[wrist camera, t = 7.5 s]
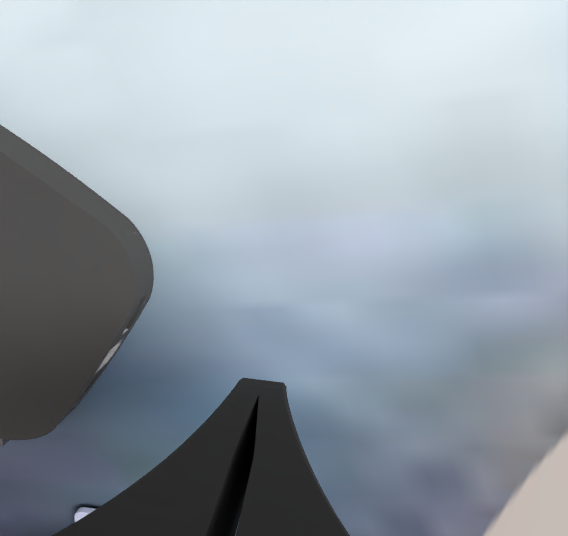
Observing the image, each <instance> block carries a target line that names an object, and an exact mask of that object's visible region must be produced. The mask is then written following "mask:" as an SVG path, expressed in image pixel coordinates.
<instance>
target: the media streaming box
mask: <svg viewBox="0 0 568 536" xmlns="http://www.w3.org/2000/svg"><path fill="white" fill-rule="evenodd" d="M152 287H153V265H152V260H151V256H150V253H149V250H148V247H147V245H146V243H145V241H144V239H143V237H142V235H141V234H140V232H139V231H138V229H137V228H136V227H135V225H134V224H133V223H132V222H131V221H130V220H129V219H128V218H127V217H126V216H124V215H123V214H122V213H121V212H120V211H118V210H117V209H116V208H115V207H113V206H112V205H111V204H109V203H108V202H107V201H106V200H104V199H103V198H102V197H101V196H99V195H98V194H97V193H95V192H94V191H93V190H91V189H90V188H89V187H87V186H86V185H85V184H84V183H82V182H81V181H80V180H78V179H77V178H76V177H74V176H73V175H71V174H70V173H69V172H67V171H66V170H65V169H63V168H62V167H61V166H59V165H58V164H56V163H55V162H54V161H52V160H51V159H49V158H48V157H47V156H45V155H44V154H42V153H41V152H40V151H38V150H37V149H35V148H34V147H32V146H31V145H30V144H28V143H27V142H25V141H24V140H22V139H21V138H19V137H18V136H16V135H15V134H13V133H12V132H10V131H9V130H7V129H6V128H4V127H3V126H1V125H0V439H8V440H26V439H33V438H37V437H41V436H43V435H46V434H48V433H49V432H51V431H52V430H53V429H54V428H55V427H56V426H57V425H58V424H59V423H60V422H61V421H62V420H63V419H64V418H65V417H66V416H67V415H68V414H69V413H70V412H71V411H72V410H73V409H74V408H75V407H76V406H77V405H78V403H79V402H80V401H81V400H82V399H83V397H84V396H85V395H86V393H87V392H88V391H89V390H90V388H91V387H92V386H93V384H94V383H95V382H96V380H97V379H98V378H99V376H100V375H101V374H102V372H103V371H104V369H105V368H106V367H107V365H108V364H109V362H110V361H111V359H112V358H113V356H114V355H115V353H116V352H117V350H118V349H119V347H120V346H121V344H122V343H123V341H124V340H125V338H126V337H127V335H128V333H129V332H130V330H131V329H132V327H133V325H134V324H135V322H136V320H137V319H138V317H139V315H140V314H141V312H142V310H143V309H144V307H145V305H146V303H147V302H148V300H149V298H150V295H151V292H152Z"/></svg>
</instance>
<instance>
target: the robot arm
mask: <svg viewBox="0 0 568 536" xmlns="http://www.w3.org/2000/svg"><path fill="white" fill-rule="evenodd" d="M74 518H75V523H73V524H72V525H70V526H68V527H67V528H65V529H63V530H61V531H60V532H58V533H56V534H54V535H53V536H235V534H236V536H350V535H349V534H348V532H347V531H346V529H345V528H344V526H343V524H342V523H341V521H340V520H339V518H338V517H337V515H336V513H335V512H334V510H333V508H332V506H331V505H330V503H329V501H328V499H327V498H326V496H325V494H324V492H323V490H322V488H321V486H320V484H319V483H318V481H317V479H316V477H315V475H314V472H313V470H312V468H311V466H310V464H309V462H308V459H307V457H306V455H305V452H304V450H303V447H302V445H301V442H300V440H299V437H298V434H297V431H296V428H295V425H294V422H293V419H292V416H291V412H290V408H289V404H288V399H287V392H286V386H285V384H284V383H281V382H273V381H265V380H256V379H248V378H242V379H241V380H239V382H238V383H237V385H236V386H235V387H234V389H233V390H232V391H231V393H230V394H229V395H228V396H227V398H226V399H225V400H224V401H223V402H222V404H221V405H220V406H219V407H218V408H217V409H216V410H215V411H214V413H213V414H212V415H211V416H210V417H209V418H208V419H207V420H206V421H205V422H204V423H203V424H202V425H201V426H200V427H199V428H198V429H197V430H196V431H195V432H194V433H193V434H192V435H191V436H190V437H189V438H188V439H187V440H186V441H185V442H184V443H183V444H182V445H181V446H180V447H179V448H177V449H176V450H175V451H174V452H173V453H172V454H171V455H170V456H168V457H167V458H166V459H165V460H164V461H162V462H161V463H160V464H159V465H157V466H156V467H155V468H154V469H153V470H151V471H150V472H149V473H147V474H146V475H145V476H143V477H142V478H141V479H139V480H138V481H137V482H135V483H134V484H133V485H131V486H130V487H129V488H127V489H126V490H124V491H123V492H121V493H120V494H119V495H117V496H116V497H114V498H113V499H111V500H110V501H108V502H107V503H105V504H103V505H102V506H100V507H99V508H97V509H94V508H87V507H81V508H79V509H78V510H77V512H76V513H75V516H74ZM239 519H240V520H239ZM238 522H239V524H238ZM237 526H238V528H237ZM236 530H237V532H236Z"/></svg>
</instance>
